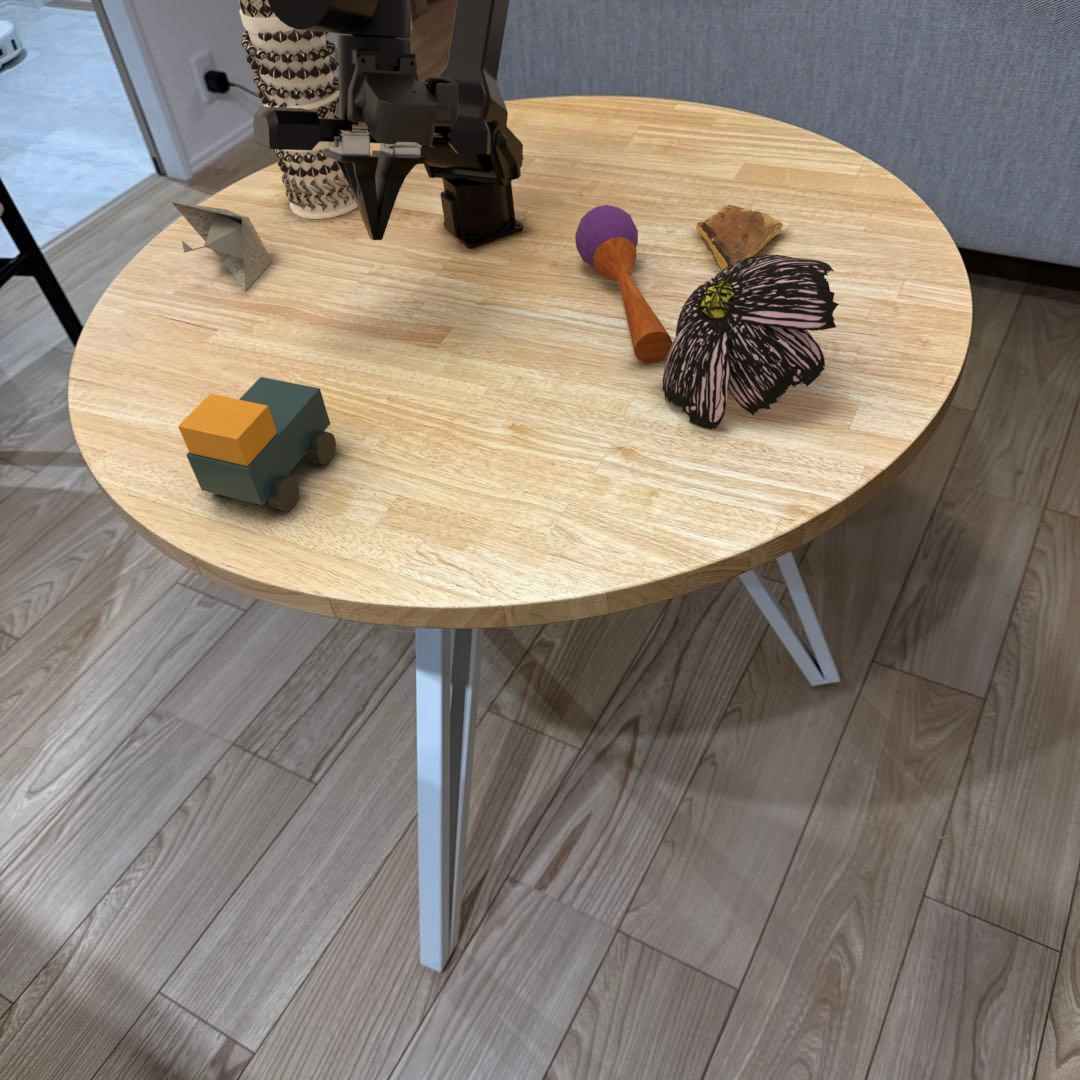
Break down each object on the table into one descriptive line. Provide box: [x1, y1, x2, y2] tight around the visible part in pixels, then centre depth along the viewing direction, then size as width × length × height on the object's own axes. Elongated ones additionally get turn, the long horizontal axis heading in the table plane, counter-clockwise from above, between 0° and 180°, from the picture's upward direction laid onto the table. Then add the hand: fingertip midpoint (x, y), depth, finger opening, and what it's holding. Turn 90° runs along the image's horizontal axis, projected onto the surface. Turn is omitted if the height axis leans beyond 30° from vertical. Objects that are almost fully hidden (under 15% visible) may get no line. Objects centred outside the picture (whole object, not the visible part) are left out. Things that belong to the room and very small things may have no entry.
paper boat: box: [171, 201, 272, 292], centre depth 101 cm, size 12×6×9 cm
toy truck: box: [177, 376, 337, 512], centre depth 77 cm, size 8×7×10 cm
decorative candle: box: [238, 0, 358, 220], centre depth 104 cm, size 9×9×25 cm
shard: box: [695, 204, 784, 271], centre depth 97 cm, size 11×8×2 cm
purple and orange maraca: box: [574, 204, 673, 364], centre depth 91 cm, size 6×6×20 cm
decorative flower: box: [662, 254, 839, 431], centre depth 80 cm, size 14×12×15 cm
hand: (375, 239), depth 86 cm, fingers closed
